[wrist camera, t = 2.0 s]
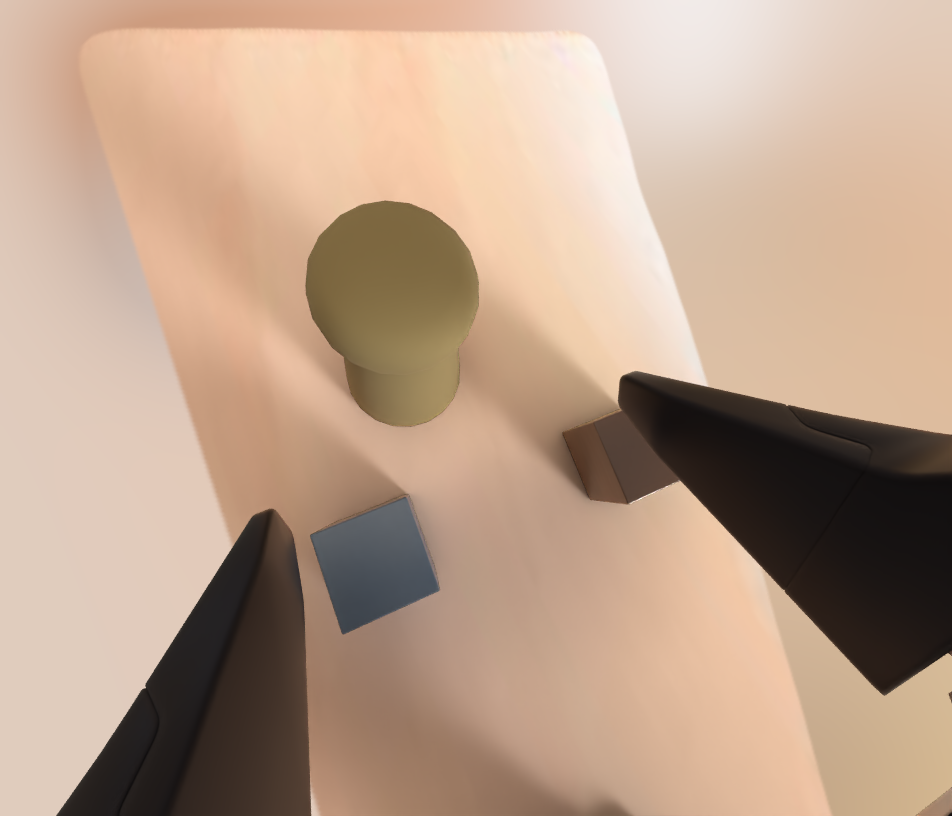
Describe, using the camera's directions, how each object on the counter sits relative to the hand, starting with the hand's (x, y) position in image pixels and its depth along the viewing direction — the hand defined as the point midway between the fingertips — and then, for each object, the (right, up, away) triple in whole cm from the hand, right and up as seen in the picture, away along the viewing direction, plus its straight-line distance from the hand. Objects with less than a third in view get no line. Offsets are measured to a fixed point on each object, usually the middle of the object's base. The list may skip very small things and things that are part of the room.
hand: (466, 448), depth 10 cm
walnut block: (+8, -2, +12) cm, 15 cm away
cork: (-4, +3, +12) cm, 13 cm away
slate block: (-4, -6, +10) cm, 12 cm away
